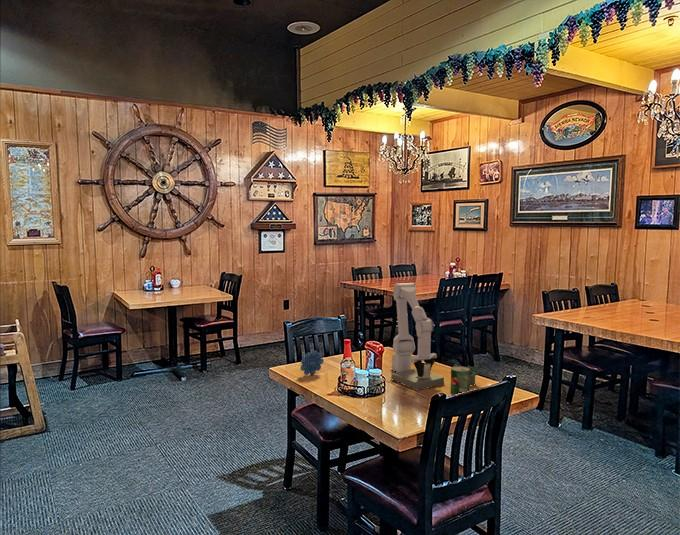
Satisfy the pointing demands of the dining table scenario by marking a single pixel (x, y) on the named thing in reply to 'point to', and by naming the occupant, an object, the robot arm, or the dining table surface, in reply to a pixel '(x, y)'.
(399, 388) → the dining table surface
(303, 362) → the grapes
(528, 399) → the dining table surface
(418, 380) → the well board
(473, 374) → the bracket
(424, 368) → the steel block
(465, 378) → the canned tomato
